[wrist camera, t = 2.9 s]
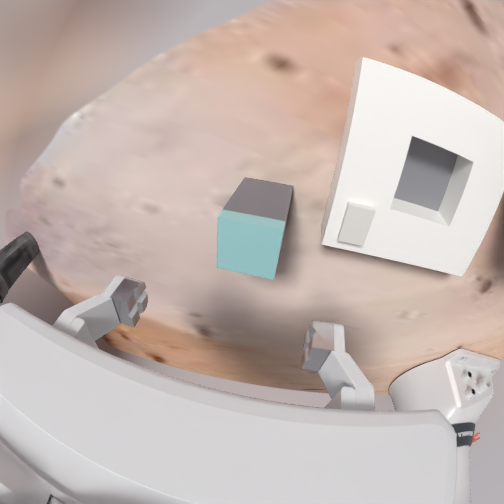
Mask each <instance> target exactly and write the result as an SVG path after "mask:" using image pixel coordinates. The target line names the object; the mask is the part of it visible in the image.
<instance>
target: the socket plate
mask: <svg viewBox="0 0 504 504" xmlns="http://www.w3.org/2000/svg"><path fill="white" fill-rule="evenodd" d="M503 192H504V122H503V121H502V120H501V119H499V118H498V117H496V116H494V115H493V114H491V113H490V112H488V111H487V110H485V109H483V108H482V107H480V106H478V105H476V104H475V103H473V102H471V101H469V100H468V99H466V98H464V97H462V96H460V95H458V94H456V93H454V92H452V91H450V90H448V89H446V88H444V87H442V86H440V85H438V84H436V83H433V82H431V81H429V80H427V79H424V78H422V77H420V76H417V75H415V74H412V73H409V72H407V71H404V70H401V69H399V68H396V67H393V66H390V65H387V64H384V63H381V62H378V61H374V60H371V59H368V58H364V57H362V58H360V59H358V60H356V61H355V68H354V75H353V81H352V87H351V93H350V99H349V104H348V110H347V115H346V121H345V126H344V131H343V136H342V141H341V145H340V150H339V155H338V159H337V164H336V168H335V173H334V177H333V181H332V186H331V190H330V194H329V198H328V202H327V206H326V210H325V214H324V218H323V221H322V245H326V246H331V247H336V248H340V249H345V250H349V251H354V252H359V253H363V254H368V255H372V256H376V257H381V258H385V259H390V260H394V261H398V262H403V263H407V264H411V265H416V266H420V267H424V268H428V269H432V270H436V271H441V272H445V273H449V274H453V275H457V276H461V277H462V276H463V274H464V273H465V271H466V269H467V267H468V266H469V264H470V262H471V260H472V259H473V257H474V255H475V253H476V251H477V249H478V247H479V246H480V244H481V242H482V240H483V238H484V236H485V234H486V232H487V229H488V227H489V225H490V223H491V221H492V219H493V216H494V214H495V212H496V209H497V207H498V205H499V202H500V200H501V197H502V194H503Z"/></svg>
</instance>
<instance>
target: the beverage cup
mask: <svg viewBox="0 0 504 504" xmlns="http://www.w3.org/2000/svg"><path fill="white" fill-rule="evenodd" d="M38 252H39V248H38V245H37V242H36V240H35V239H34V237H33V236H32V235H31V234H30V233H28V232H25V233H24V234H22V235H21V236H19V237H17V238H16V239H14V240H13V241H12V242H10V243H9V244H8V245H6V246H5V247H4V248H3V249H1V250H0V303H2V302H3V299H4V298H5V296H6V295H7V293H8V290H9V289H10V288H11V286H12V285H13V284H14V282H15V281H16V280H17V279H18V277H19V276H20V275H21V274H22V272H23V271H24V270H25V269H26V267H27V266H28V265H29V264H30V263H31V261H32V260H33V259H34V257H35V256H36V255H37V254H38Z"/></svg>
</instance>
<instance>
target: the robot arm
mask: <svg viewBox="0 0 504 504" xmlns="http://www.w3.org/2000/svg"><path fill="white" fill-rule="evenodd" d="M145 289H146V285H145V282H142V281H139V280H136V279H133V278H130V277H126V276H123V275H120V274H119V275H117V276H116V277H115V278H114V279H113V281H112V282H111V283H110V284H109V286H108V287H107V288H106V289H105V291H104V292H103V293H102V295H101V294H98V295H96V296H94V297H92V298H90V299H87V300H85V301H83V302H81V303H79V304H77V305H75V306H72V307H71V308H68V309H66V310H64V311H63V313H62V314H61V316H60V317H59V318H58V319H57V321H56V322H55V323H54V325H53V326H51V325H49V324H47V323H46V322H44V321H42V320H40V319H39V318H37V317H35V316H34V315H32V314H30V313H28V312H27V311H25V310H24V309H22V308H21V307H19V306H18V305H16V304H14V303H8V304H5V305H2V306H0V504H471V489H470V451H469V447H470V446H471V444H472V442H474V441H476V440H478V439H479V438H480V437H479V438H476V439H474V438H475V437H476V436H477V435H478V434H480V433H477V434H475V435H474V430H475V422H476V421H477V419H478V418H479V416H480V415H481V413H482V412H483V410H484V409H485V407H486V406H487V405H488V403H489V402H490V400H491V398H492V396H493V392H494V388H493V381H492V376H493V375H494V374H495V373H496V371H497V370H498V368H499V367H500V360H499V359H496V358H492V357H489V356H485V355H482V354H479V353H475V352H472V351H468V350H465V349H458V350H455V351H453V352H451V353H450V354H448V355H446V356H444V357H442V358H440V359H437V360H434V361H431V362H428V363H425V364H422V365H420V366H417V367H415V368H413V369H411V370H409V371H407V372H406V373H404V374H402V375H401V376H400V377H398V378H397V379H396V380H395V381H394V382H393V383H392V384H391V386H390V388H389V394H390V396H391V398H392V401H393V404H394V407H395V411H375V400H374V388H373V387H372V385H371V384H370V382H369V381H368V380H367V378H366V377H365V375H364V374H363V373H362V371H361V370H360V368H359V367H358V366H357V364H356V363H355V362H354V360H353V359H352V357H351V356H350V355H349V353H346V352H345V336H344V326H343V325H342V324H335V323H329V322H323V321H317V320H312V321H311V323H310V325H309V330H307V332H306V334H305V338H304V342H303V351H304V354H303V356H302V365H301V369H306V370H312V371H318V373H319V375H320V377H321V379H322V381H323V383H324V385H325V387H326V389H327V391H328V393H329V395H330V397H331V398H332V400H331V401H330V402H329V403H328V404H327V405H326V407H325V408H318V407H309V406H301V405H293V404H287V403H280V402H273V401H268V400H262V399H257V398H252V397H246V396H242V395H238V394H233V393H229V392H225V391H220V390H216V389H212V388H208V387H205V386H201V385H197V384H194V383H190V382H187V381H184V380H180V379H177V378H174V377H171V376H167V375H164V374H161V373H158V372H156V371H152V370H150V369H147V368H144V367H141V366H138V365H136V364H133V363H131V362H128V361H126V360H123V359H120V358H118V357H116V356H113V355H111V354H109V353H106V352H104V351H102V350H100V349H98V347H97V345H96V343H95V340H96V339H98V338H100V337H101V336H103V335H104V334H106V333H107V332H109V331H110V330H112V329H113V328H115V327H116V326H118V325H119V324H120V323H122V324H125V325H128V326H131V327H135V326H136V324H137V322H138V321H139V319H140V315H139V314H140V313H142V312H144V310H145V309H146V307H147V303H148V295H147V293H146V292H145V291H144V290H145Z"/></svg>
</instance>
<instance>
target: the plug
mask: <svg viewBox="0 0 504 504" xmlns="http://www.w3.org/2000/svg"><path fill="white" fill-rule="evenodd" d="M292 190H293V186H291V185H286V184H280V183H275V182H269V181H264V180H258V179H252V178H246V177H245V178H244V179H243V181H242V182H241V184H240V185H239V187H238V188H237V190H236V191H235V192H234V194H233V195H232V197H231V198H230V200H229V201H228V203H227V204H226V206H225V207H224V209H223V210H222V212H221V213H220V215H219V216H218V229H217V268H220V269H225V270H229V271H234V272H238V273H243V274H247V275H252V276H257V277H261V278H266V279H271V280H274V278H275V273H276V269H277V265H278V260H279V256H280V251H281V247H282V242H283V238H284V233H285V228H286V223H287V218H288V212H289V207H290V201H291V196H292Z"/></svg>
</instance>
